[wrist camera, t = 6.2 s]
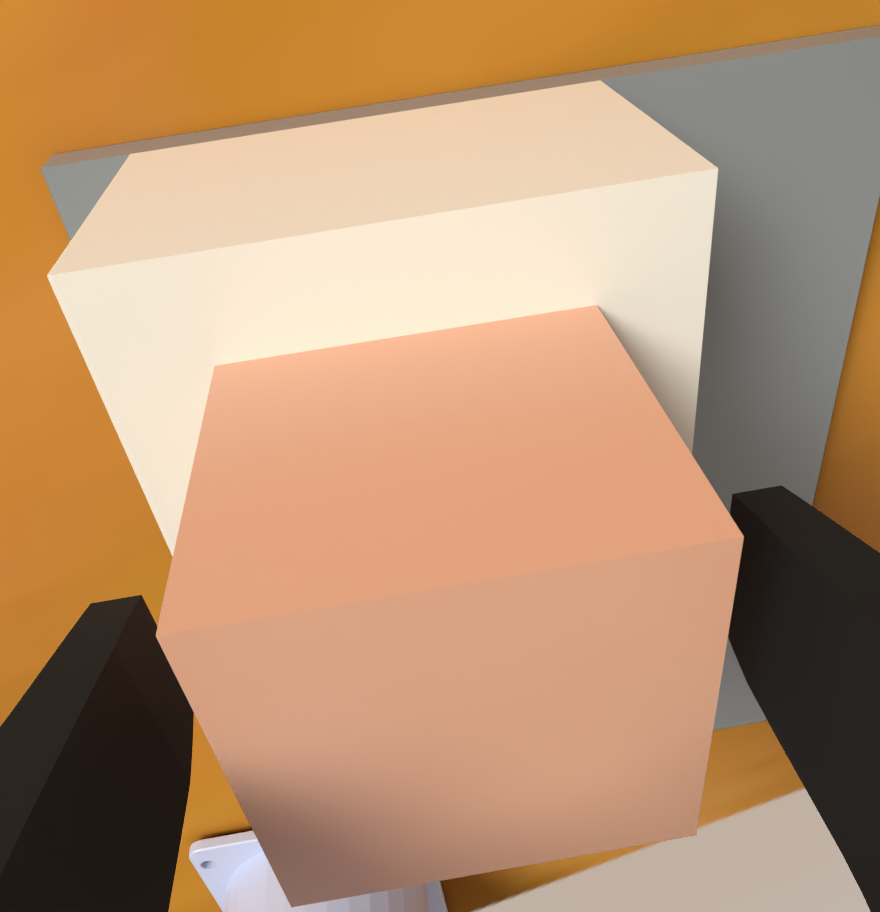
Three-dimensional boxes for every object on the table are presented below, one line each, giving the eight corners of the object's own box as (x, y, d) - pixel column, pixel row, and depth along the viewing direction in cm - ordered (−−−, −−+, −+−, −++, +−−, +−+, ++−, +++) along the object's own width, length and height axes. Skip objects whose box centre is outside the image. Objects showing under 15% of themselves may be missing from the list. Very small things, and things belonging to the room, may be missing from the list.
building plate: (754, 700, 26) (765, 721, 26) (305, 780, 26) (305, 803, 25) (888, 23, 14) (915, 30, 14) (53, 154, 14) (40, 168, 13)
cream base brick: (598, 454, 18) (676, 618, 14) (254, 513, 18) (234, 695, 14) (600, 80, 13) (718, 168, 9) (129, 153, 13) (46, 275, 9)
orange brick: (594, 575, 13) (696, 834, 10) (299, 624, 13) (291, 907, 10) (596, 305, 10) (743, 536, 7) (214, 365, 10) (156, 635, 7)
